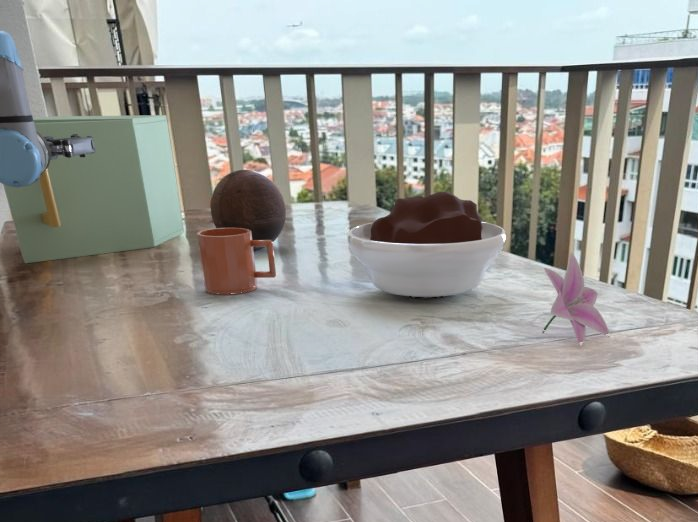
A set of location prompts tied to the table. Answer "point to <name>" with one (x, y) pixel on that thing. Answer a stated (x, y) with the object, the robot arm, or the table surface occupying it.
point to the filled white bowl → (427, 246)
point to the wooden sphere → (249, 205)
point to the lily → (575, 301)
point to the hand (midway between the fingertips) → (37, 143)
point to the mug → (231, 260)
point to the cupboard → (149, 170)
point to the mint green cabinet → (84, 197)
